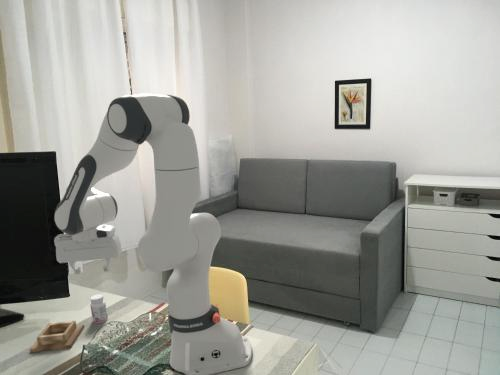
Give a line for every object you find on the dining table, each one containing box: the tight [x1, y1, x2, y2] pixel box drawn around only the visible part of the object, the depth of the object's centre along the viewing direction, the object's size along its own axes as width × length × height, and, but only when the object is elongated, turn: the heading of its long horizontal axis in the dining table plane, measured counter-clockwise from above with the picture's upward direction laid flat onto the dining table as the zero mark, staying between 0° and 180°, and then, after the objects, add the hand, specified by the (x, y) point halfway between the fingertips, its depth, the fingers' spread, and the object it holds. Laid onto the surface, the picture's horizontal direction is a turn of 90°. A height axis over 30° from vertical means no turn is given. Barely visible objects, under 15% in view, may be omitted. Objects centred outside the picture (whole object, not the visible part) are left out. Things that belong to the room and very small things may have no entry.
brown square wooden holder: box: [29, 320, 85, 353], centre depth 130 cm, size 12×12×4 cm
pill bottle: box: [89, 293, 108, 324], centre depth 139 cm, size 5×5×8 cm
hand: (92, 272), depth 137 cm, fingers open, 8 cm apart
